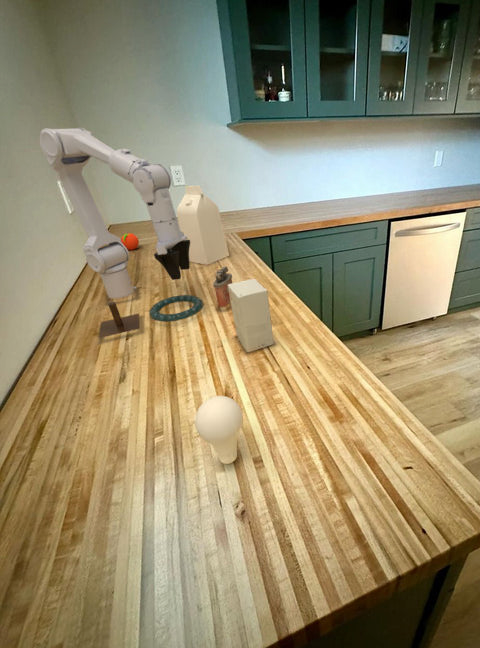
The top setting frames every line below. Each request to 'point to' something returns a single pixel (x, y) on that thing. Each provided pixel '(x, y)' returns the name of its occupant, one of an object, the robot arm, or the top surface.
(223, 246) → the milk
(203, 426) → the lightbulb
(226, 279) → the lighter
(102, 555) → the top surface
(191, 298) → the ring
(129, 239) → the clementine
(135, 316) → the stand
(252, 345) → the small box
